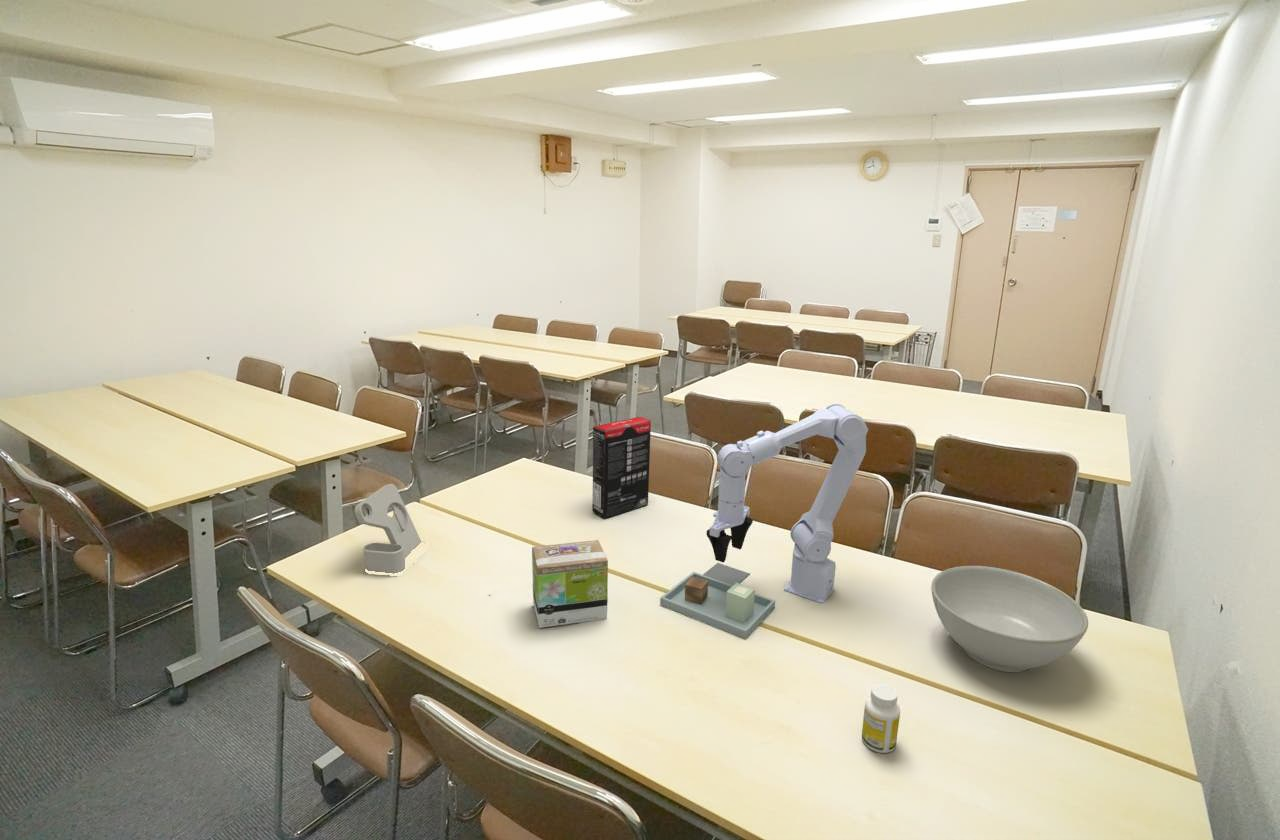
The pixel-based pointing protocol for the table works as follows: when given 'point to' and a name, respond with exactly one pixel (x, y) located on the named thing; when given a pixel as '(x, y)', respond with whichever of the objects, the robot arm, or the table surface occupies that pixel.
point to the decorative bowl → (1007, 617)
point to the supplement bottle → (881, 719)
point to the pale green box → (740, 602)
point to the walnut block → (696, 590)
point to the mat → (726, 574)
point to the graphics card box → (621, 466)
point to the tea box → (569, 583)
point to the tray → (716, 607)
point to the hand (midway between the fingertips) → (728, 554)
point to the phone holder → (388, 530)
